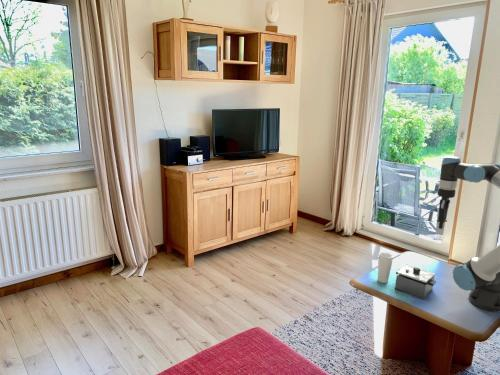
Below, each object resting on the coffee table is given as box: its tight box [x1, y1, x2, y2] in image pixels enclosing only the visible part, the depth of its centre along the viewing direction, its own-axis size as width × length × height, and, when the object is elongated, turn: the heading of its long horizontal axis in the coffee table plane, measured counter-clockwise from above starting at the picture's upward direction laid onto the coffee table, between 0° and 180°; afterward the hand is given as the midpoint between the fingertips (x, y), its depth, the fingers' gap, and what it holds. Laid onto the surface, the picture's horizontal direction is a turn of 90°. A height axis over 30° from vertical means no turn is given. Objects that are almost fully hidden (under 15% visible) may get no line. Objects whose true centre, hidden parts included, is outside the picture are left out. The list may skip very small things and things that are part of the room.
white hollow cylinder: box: [377, 252, 394, 284], centre depth 193 cm, size 7×7×15 cm
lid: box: [396, 264, 436, 283], centre depth 185 cm, size 14×14×3 cm
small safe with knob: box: [394, 268, 437, 301], centre depth 186 cm, size 18×14×8 cm
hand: (439, 234), depth 183 cm, fingers closed
